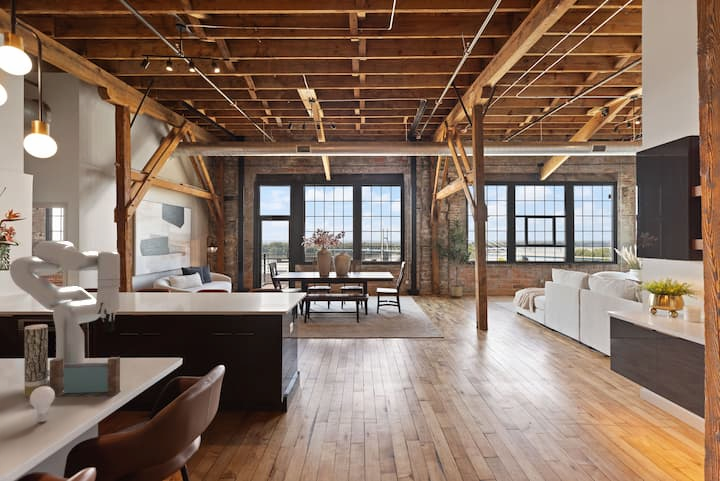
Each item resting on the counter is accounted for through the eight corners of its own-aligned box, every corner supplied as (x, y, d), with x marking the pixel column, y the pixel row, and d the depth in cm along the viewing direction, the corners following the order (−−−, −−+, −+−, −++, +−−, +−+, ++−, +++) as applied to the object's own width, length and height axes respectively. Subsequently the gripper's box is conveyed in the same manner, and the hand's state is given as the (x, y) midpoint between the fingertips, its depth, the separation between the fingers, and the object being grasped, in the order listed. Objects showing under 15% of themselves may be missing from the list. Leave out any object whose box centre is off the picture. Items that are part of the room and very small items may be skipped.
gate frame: (48, 397, 160) (48, 361, 160) (55, 393, 164) (55, 358, 164) (115, 395, 162) (115, 359, 162) (120, 391, 166) (120, 356, 166)
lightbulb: (38, 418, 141) (38, 383, 141) (59, 417, 141) (59, 383, 141) (24, 426, 134) (24, 390, 134) (47, 426, 135) (47, 389, 135)
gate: (61, 393, 161) (61, 364, 161) (64, 391, 163) (64, 363, 163) (107, 391, 163) (107, 363, 163) (109, 390, 164) (109, 361, 164)
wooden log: (22, 399, 157) (22, 328, 157) (26, 393, 163) (26, 325, 163) (46, 396, 161) (46, 326, 161) (48, 390, 167) (49, 323, 167)
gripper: (107, 282, 180) (107, 327, 180) (88, 285, 165) (88, 335, 165) (127, 281, 181) (127, 327, 181) (110, 285, 165) (109, 335, 165)
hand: (108, 331), depth 173 cm, fingers closed
